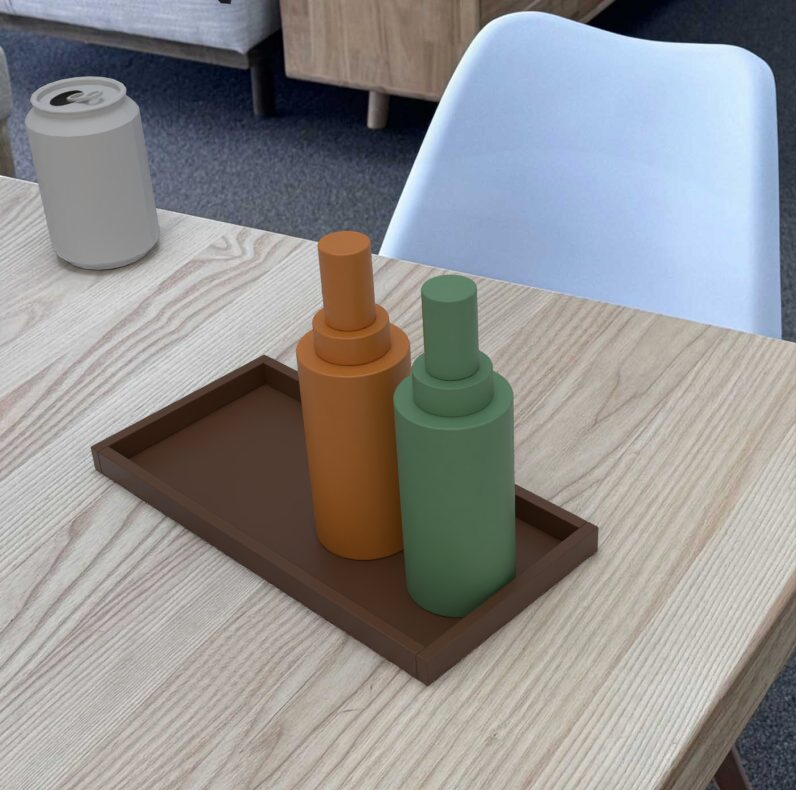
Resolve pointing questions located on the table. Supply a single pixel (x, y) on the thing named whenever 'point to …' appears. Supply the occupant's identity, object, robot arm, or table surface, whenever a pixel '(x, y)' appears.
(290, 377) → the tray
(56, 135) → the can
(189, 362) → the table surface
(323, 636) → the table surface
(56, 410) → the table surface
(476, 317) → the green bottle
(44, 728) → the table surface
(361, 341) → the amber bottle
